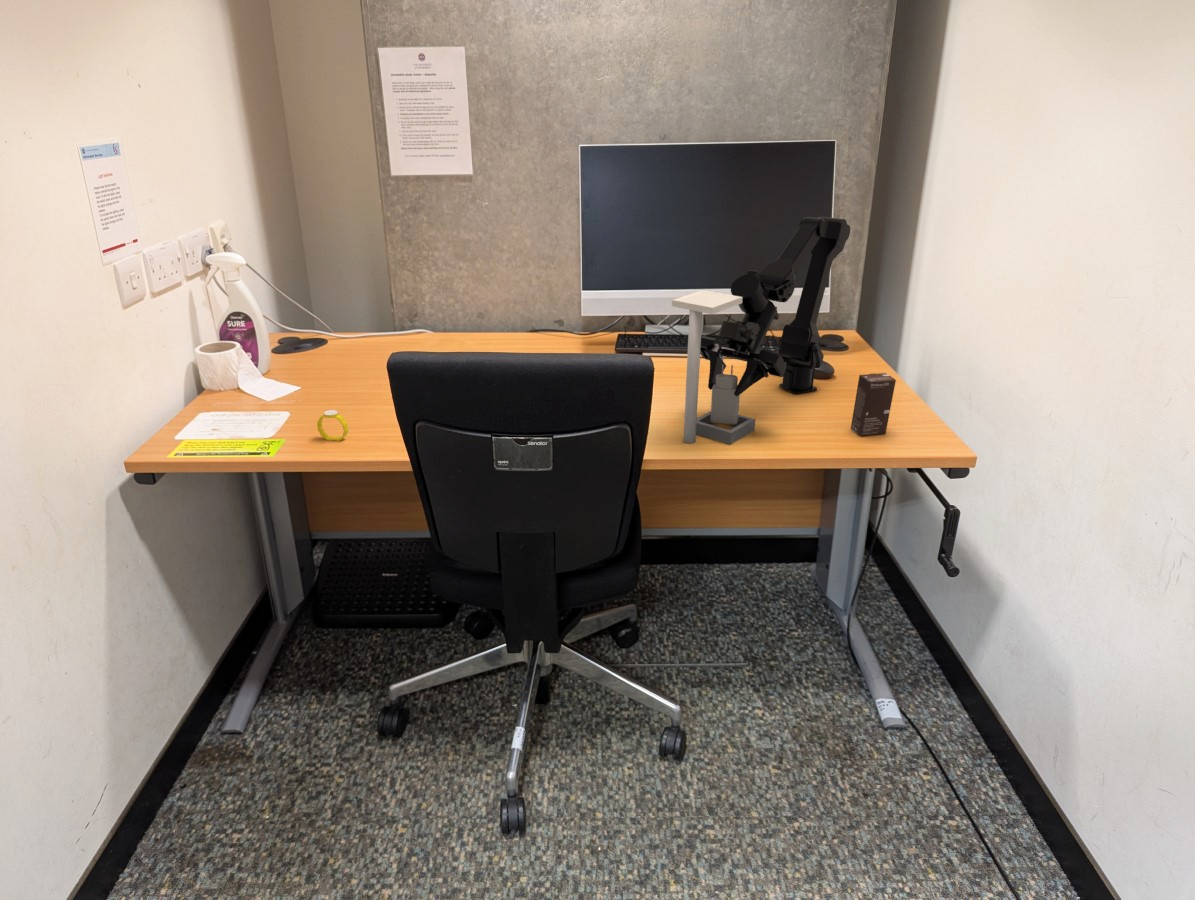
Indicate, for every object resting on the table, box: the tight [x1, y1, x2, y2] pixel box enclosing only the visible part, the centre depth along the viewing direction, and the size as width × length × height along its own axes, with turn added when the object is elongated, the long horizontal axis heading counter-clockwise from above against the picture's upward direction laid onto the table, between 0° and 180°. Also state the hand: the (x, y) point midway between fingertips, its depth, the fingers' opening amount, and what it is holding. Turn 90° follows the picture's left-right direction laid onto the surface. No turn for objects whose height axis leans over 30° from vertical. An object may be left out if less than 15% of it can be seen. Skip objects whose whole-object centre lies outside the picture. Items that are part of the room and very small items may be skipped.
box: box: [850, 372, 897, 437], centre depth 163 cm, size 6×4×12 cm
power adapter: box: [710, 364, 741, 425], centre depth 163 cm, size 3×5×12 cm, turn 72°
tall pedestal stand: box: [671, 289, 757, 446], centre depth 159 cm, size 15×12×28 cm
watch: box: [316, 409, 349, 442], centre depth 161 cm, size 6×3×6 cm, turn 80°
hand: (722, 391), depth 161 cm, fingers closed on power adapter, 6 cm apart
